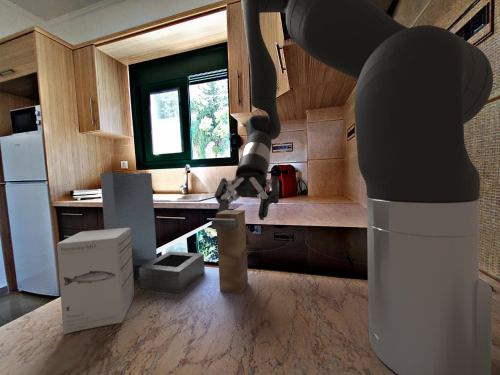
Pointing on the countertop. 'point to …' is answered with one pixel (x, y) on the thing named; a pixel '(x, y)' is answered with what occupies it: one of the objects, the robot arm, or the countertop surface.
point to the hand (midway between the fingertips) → (240, 217)
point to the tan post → (231, 250)
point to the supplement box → (95, 278)
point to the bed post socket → (145, 233)
